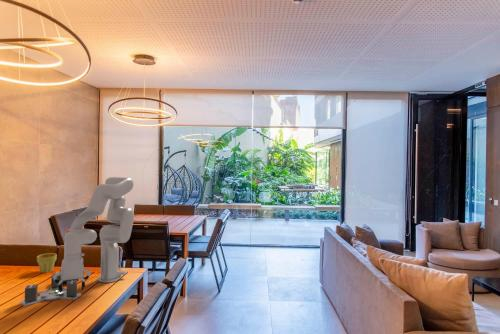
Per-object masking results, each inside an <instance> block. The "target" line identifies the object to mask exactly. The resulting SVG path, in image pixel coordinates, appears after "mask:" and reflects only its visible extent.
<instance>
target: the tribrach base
mask: <svg viewBox="0 0 500 334" xmlns="http://www.w3.org/2000/svg"><path fill="white" fill-rule="evenodd" d="M81 295H83V294H82V293H80V292H79V293H78V292H77V296H70V297H67V288H65V287H64V284H62V292H61V293H60V291H59V287H58V288H51V287H50V288H49V289H46V290H43V291H41V292H40V293H39V295H37V299H36V301H30V302H25V299H24V300H21V301H20V304H21V305H22V306H23V307H27V306H30V305H34V304H37V303H40V302H45V301H46V302H48V301H49V302H50V301H51V302H52V301H56V300H57V301H58V300H60V299H61V300H71V299H73V301H75V300H77V299H78V297H79V298H80V297H82V296H81Z"/></svg>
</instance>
